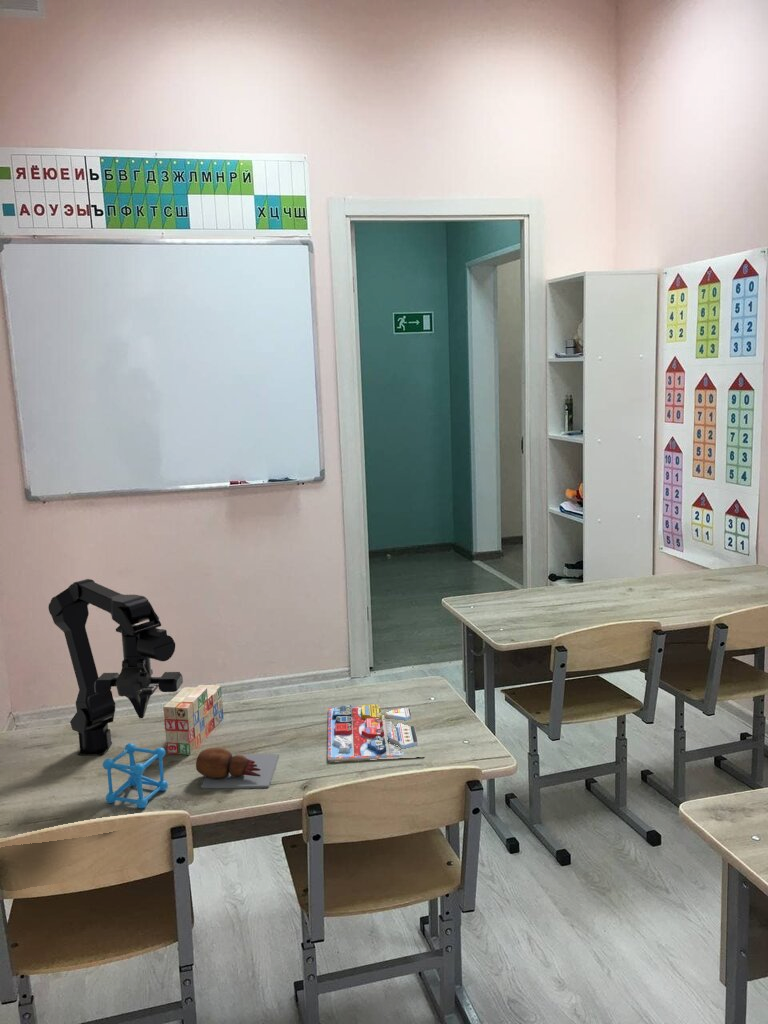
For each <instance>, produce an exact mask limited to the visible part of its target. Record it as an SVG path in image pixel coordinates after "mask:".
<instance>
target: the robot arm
mask: <svg viewBox="0 0 768 1024" xmlns="http://www.w3.org/2000/svg"><path fill="white" fill-rule="evenodd" d="M89 605H92V606H95V607H97V608H98V609H101V610H102V611H104V612H107V613H109V614H110V615H111V620H113V621H114V622H115V623H116V624H118V626H117V627H116V628H115V632H117V633H120V634H121V644H122V652H123V653H122V654H123V660H122V661H121V670H120V673H119V672H103V673H102V674H101V675H100V676H99V673H98V670H97V665H96V662H95V658H94V655H93V651H92V647H91V644H90V640H89V635H88V632H87V628H86V626H87V625H86V624H87V622H88V618H89ZM47 608H48V613H49V614H50V616H51V618H52V621H53V624H54V625H55V626H56V627H58V628H59V629H60V630H61V631H62V632H63V634H64V637H65V642H66V644H67V648H68V652H69V656H70V660H71V664H72V667H73V671H74V675H75V679H76V682H77V686H78V693H77V697H76V700H75V707H76V713H74V715H73V716H72V718H71V719H70V721H69V722H70V726H71V729H72V731H75V732H77V734H78V745H79V750H78V751H77V753H76V754H77V755H78V756H103V755H105V754H106V752H107V751H108V749H110V747H111V745H112V744H113V741H112V736H111V735H112V734H111V729H110V728H109V724H110V723H113V722H114V718H115V713H116V702H115V700H114V697H113V692H112V687H116V691H117V694H118V696H119V697H125V698H126V699H128V700H129V702H130V703H131V705H132V706H133V708H134V711H135V713H136V714H137V716H138V718H139V719H144V718H145V715H146V711H147V708H148V705H149V701H150V699H151V696H152V695H153V694H154V693H155V692H156V690H157V689H158V690H160V692H162V693H175V692H178V690H180V687H181V686H182V685H183V682H184V679H183V678H184V677H183V674H182V673H181V672H180V671H165V672H164V673H163V674H162V675H161V676H152V675H153V674H154V671H153V670H154V669H153V668H152V665H151V659H152V660H155V661H159V662H167V661H168V660H170V659H171V658H172V657H173V655H174V653H175V651H176V642H175V640H174V638H173V637H172V636H171V635H169V634H168V633H167V629H165V628H162V629H161V628H160V627H162V623H161V621H160V616H158V614H157V613H156V612H155V610H154V608H153V605H152V604H151V603H150V601H149V599H148V598H147V597H146V596H144V595H139V594H123V593H120V592H117V591H116V590H113V589H110V588H108V587H106V586H104V585H102V584H100V583H97V582H95V581H94V580H93V579H90V578H86V579H82V580H78V581H75V582H73V583H71V584H70V585H69V586H68V587H67V588H66V589H64V590H63V591H61V592H60V593H59V594H57V595H55V596H53V597H52V598H51V600H50V602H49V603H48V607H47ZM142 622H143V623H142Z"/></svg>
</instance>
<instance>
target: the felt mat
mask: <svg viewBox="0 0 768 1024" xmlns="http://www.w3.org/2000/svg"><path fill="white" fill-rule="evenodd" d="M235 755H236V754H232V756H235ZM242 755H243V756H245V757H246V758H247V759H249V760H252V761H255V763H254V764H256V765H257V767H255V768H258V769H260V771H252V772H255V773H257V774H259V775H261V776H250V775H243V776H240V777H235V776H232V775H231V774H230V773H229V774H228V775H227V776H225V777H223V778H219V779H214V778H209V777H206V776H204V777H205V778H204V780H203V782H202V783H201V785H200V788H201V789H251V788H252V789H253V788H254V789H255V788H258V789H261V788H262V789H264V788H267V789H269V788H270V784H271V782H272V778H273V775H274V772H275V770H276V767H277V764H278V761H279V757H280V754H279V753H268V754H267V753H263V754H262V753H260V754H259V753H257V754H256V753H255V754H254V753H251V754H249V753H248V754H245V753H244V754H242Z"/></svg>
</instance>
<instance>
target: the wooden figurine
mask: <svg viewBox="0 0 768 1024" xmlns="http://www.w3.org/2000/svg"><path fill="white" fill-rule="evenodd" d="M232 755H233V754H232V753H231V751H229V750H227V749H225V748H223V747H211V748H206V749H203V750H201V751H200V752H199V754H198V756H197V758H196V761H195V769H196V771H197V772H198V773H199V774H200V775H202V776H204V777H209V778H214V779H219V778H223V777H225V776H227V775H228V774H229V773H230V774H231V775H232V776H235V777H240V776H243V775H250V776H261V775H259V774H257V773H255V772H252V771H260V769H258V768H255V767H257V765H256V764H254V763H255V761H252V760H249V759H247V758H246V757H245V756H243V755H244V754H234V755H235V756H232Z"/></svg>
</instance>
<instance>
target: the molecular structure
mask: <svg viewBox="0 0 768 1024" xmlns="http://www.w3.org/2000/svg"><path fill="white" fill-rule="evenodd" d="M124 746H125V747H124V751H122V752H120V753H119V754H118V755H116V756H115V757H114V758H106V759H104V760H103V762H102V767H103V769H104V770H105V771H107V773H106V774H107V781H108V782H107V783H108V793H107V794H106V795H105V801H106V802H107V803H109V804H114V803H115V802H116V801H118V802H119V801H120V802H125V803H131V804H136V807H137V808H139V809H145V808H146V807H147V806H148V800H150V798H152V797H153V796H154V795H155V794H158V792H159V791H160V792H164V791H166V790H167V789H168V787H169V783H168V781H167V780H165V778H164V767H163V766H164V765H163V764H164V763H163V758H164V757H165V756H166V750H165V748H163V747H161V746H160V747H157V748H156V749H147V748H142V747H136V744H134V742H133V743H132V742H129V743H127V744H126V745H124ZM135 752H141V753H147V754H153V756H151V757H150V758H149V759H148V760H146V761H145V762H143V763H141V762H138V763H136V760H135V755H134V753H135ZM126 754H128V756H129V765H128V764H121V763H115V762H116V761H118V760H120V759H121V758H122V757H124V756H125V755H126ZM157 759H158V765H159V766H158V769H159V779H160V780H158V781H157V780H154V779H151V778H150V777H147V776H144V775H143V774H144V773H145V770H146V769H147V768H148V767H149V766H150V765H151V764H152V763H153V762H154V761H155V760H157ZM112 769H115V770H117V771H120V772H123V773H125V774H127V775H130V776H129V777H128V778H127V780H126V781H125V782H124V783H123V784H122V785H121V786H119V788H117V790H116V791H113V780H112V779H113V778H112ZM143 785H147V786H154V787H156V788H155V789H154V790H152V792H150V793H149V794H148V795H146V796H144V791H143ZM129 786H131V787H135V786H136V790H137V796H138V798H137V799H133V798H128V797H123V796H118V795H119V794H121V793H122V792H123V791H124V790H126V789H127V788H128V787H129Z"/></svg>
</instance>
